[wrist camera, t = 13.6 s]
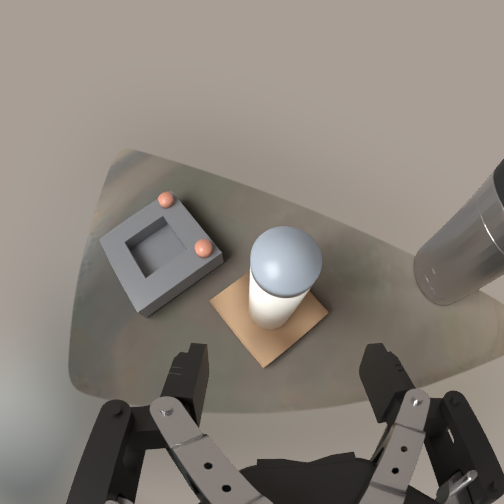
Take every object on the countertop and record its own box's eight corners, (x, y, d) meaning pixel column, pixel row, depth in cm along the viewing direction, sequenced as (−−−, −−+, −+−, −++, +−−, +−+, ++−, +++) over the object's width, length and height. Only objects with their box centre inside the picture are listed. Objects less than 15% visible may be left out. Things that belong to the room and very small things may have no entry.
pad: (273, 256, 32) (274, 252, 31) (326, 314, 29) (328, 312, 28) (210, 303, 30) (209, 300, 29) (263, 368, 27) (263, 367, 26)
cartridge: (272, 281, 30) (289, 214, 18) (298, 311, 28) (336, 263, 17) (239, 305, 29) (235, 251, 17) (266, 338, 27) (283, 307, 15)
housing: (175, 202, 35) (169, 185, 32) (223, 262, 32) (220, 248, 29) (107, 248, 32) (95, 235, 29) (146, 317, 29) (134, 310, 26)
